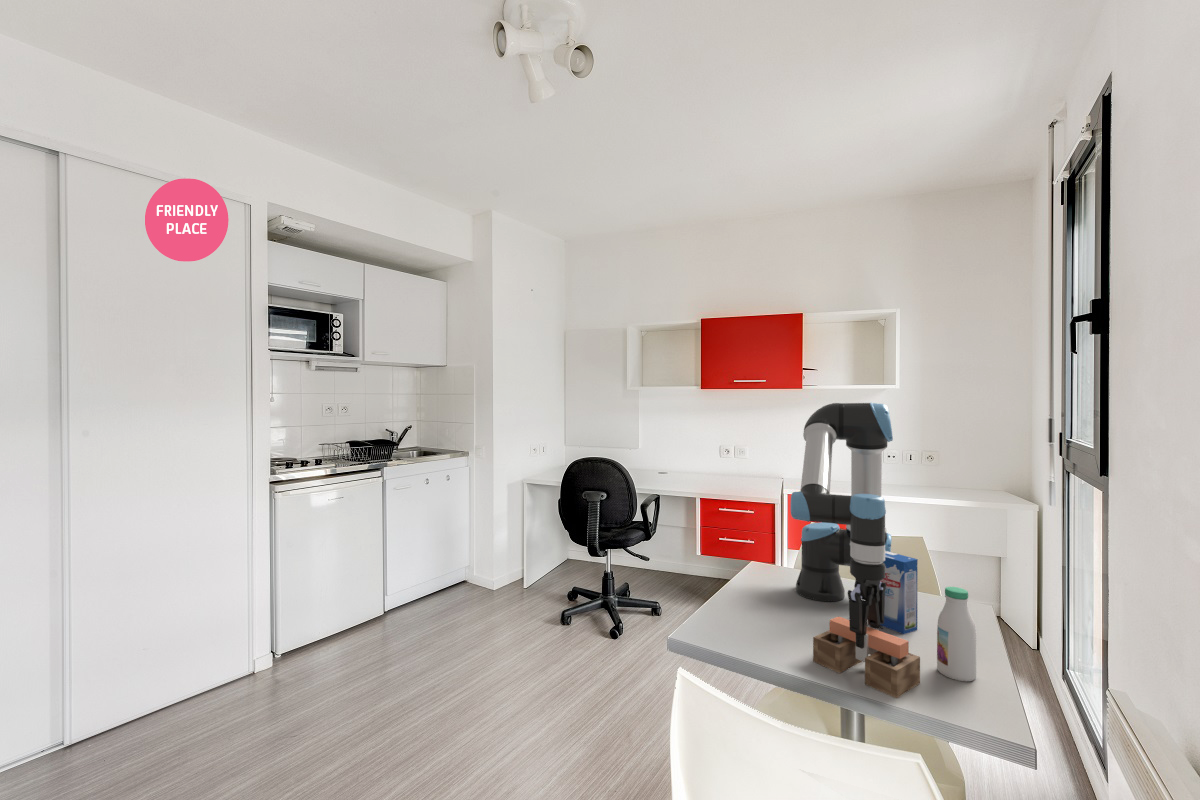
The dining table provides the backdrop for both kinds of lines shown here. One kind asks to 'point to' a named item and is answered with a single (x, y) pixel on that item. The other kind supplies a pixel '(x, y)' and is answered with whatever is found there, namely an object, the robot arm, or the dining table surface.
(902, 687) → the keyhole plates
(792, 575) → the dining table surface
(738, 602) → the dining table surface
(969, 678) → the milk bottle
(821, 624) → the dining table surface
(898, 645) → the salmon bridge bar
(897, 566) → the milk carton
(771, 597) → the dining table surface
